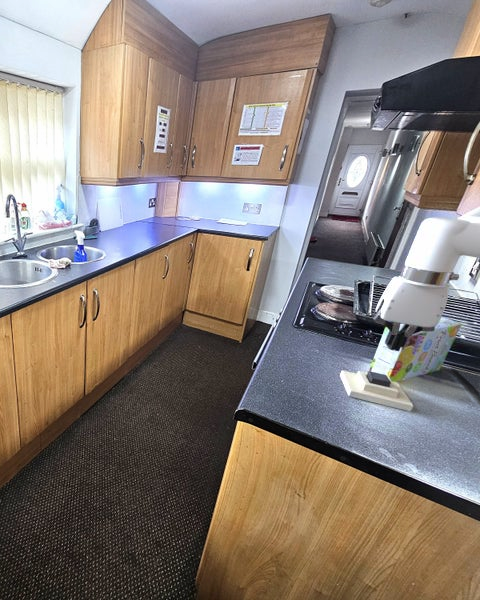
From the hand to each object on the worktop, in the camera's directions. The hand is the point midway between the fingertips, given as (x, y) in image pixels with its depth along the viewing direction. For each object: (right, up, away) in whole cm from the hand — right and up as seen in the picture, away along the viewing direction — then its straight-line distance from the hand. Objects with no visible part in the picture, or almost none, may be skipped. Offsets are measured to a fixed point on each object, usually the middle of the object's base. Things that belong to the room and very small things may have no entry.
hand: (392, 347), depth 79 cm
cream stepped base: (0, -12, +5) cm, 13 cm away
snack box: (+15, -9, +13) cm, 22 cm away
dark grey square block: (0, -9, +4) cm, 10 cm away
